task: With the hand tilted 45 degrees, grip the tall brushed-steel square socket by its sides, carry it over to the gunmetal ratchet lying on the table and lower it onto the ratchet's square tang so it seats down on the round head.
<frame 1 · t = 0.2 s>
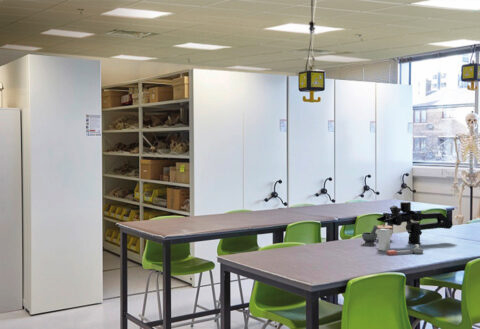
hand: (380, 220, 387), 17 cm above the table, tool horizontal, fingers open, 9 cm apart
ratchet: (417, 252, 362), on the table
mortar and pestle: (370, 244, 395), on the table
lidded bowl: (383, 239, 411), on the table
socket: (384, 249, 373), on the table
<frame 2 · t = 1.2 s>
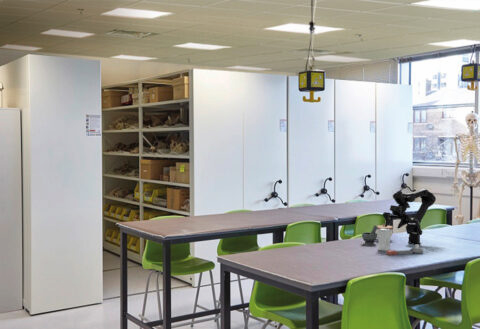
hand: (391, 227, 377), 13 cm above the table, tool tilted 45°, fingers open, 9 cm apart
nothing on the table moved.
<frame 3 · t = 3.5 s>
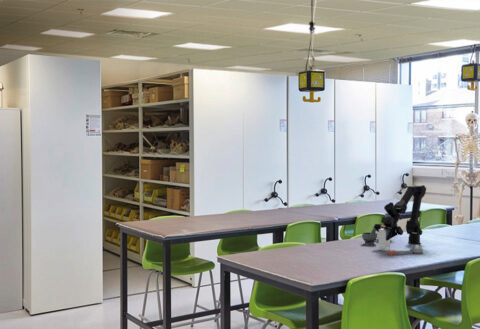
hand: (382, 239, 371), 7 cm above the table, tool tilted 45°, fingers closed on socket, 5 cm apart
socket: (384, 249, 373), on the table, touching gripper
everything else where it was.
when the fingers open (9 cm above the table, at t = 9.5 s): socket stays where it is, resting on ratchet.
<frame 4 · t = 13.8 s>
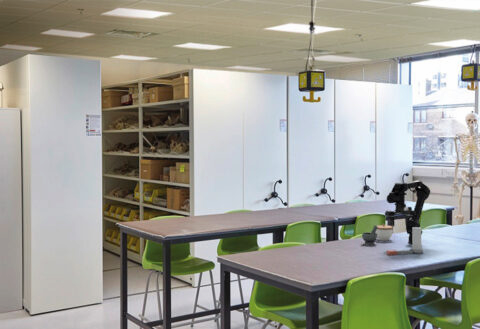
hand: (400, 226, 385), 13 cm above the table, tool pointing down, fingers open, 9 cm apart
socket: (416, 249, 362), point 2 cm above the table, touching ratchet
everything else where it was.
at the end: socket 0.1 cm off-centre on the ratchet, point 2.4 cm above the ratchet's base; socket tilted 0°; the gripper is holding nothing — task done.
